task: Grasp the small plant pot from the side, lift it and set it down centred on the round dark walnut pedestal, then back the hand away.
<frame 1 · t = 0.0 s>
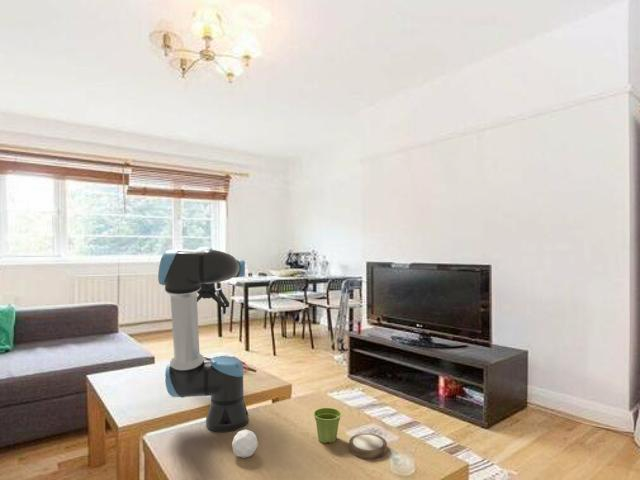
hand: (208, 319, 195), 28 cm above the table, tool tilted 20°, fingers open, 13 cm apart
geometric ball: (244, 456, 126), on the table
pedestal: (367, 448, 130), on the table
plant pot: (327, 439, 137), on the table
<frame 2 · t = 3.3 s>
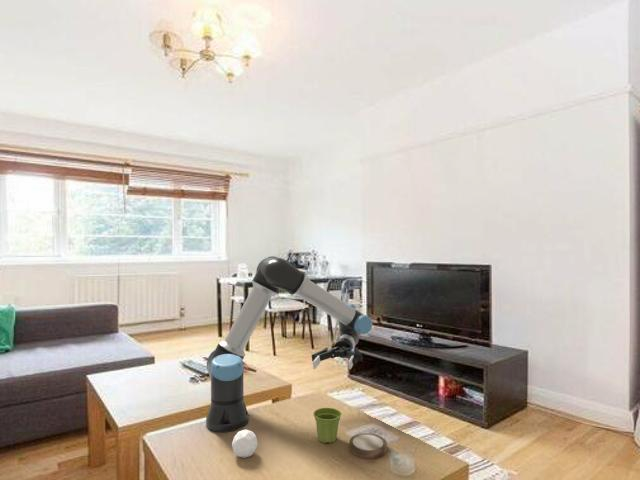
hand: (331, 365, 150), 20 cm above the table, tool horizontal, fingers open, 13 cm apart
nothing on the table moved.
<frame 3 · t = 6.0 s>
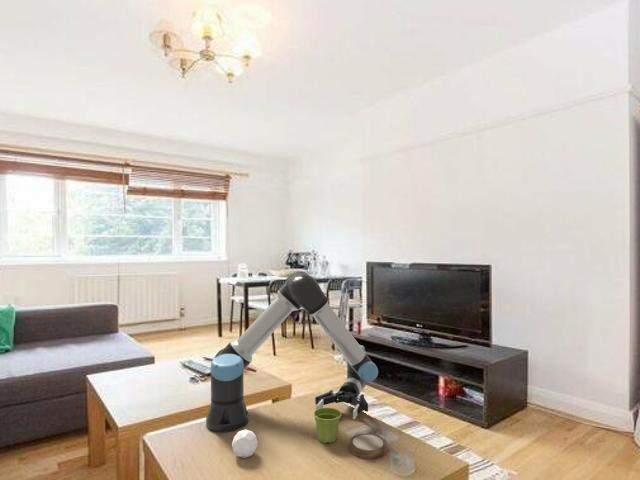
hand: (335, 412, 143), 6 cm above the table, tool horizontal, fingers open, 13 cm apart
nothing on the table moved.
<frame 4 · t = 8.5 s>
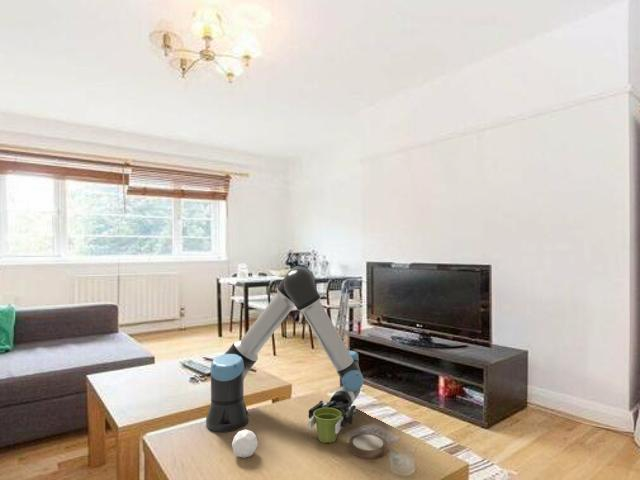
hand: (322, 427, 132), 6 cm above the table, tool horizontal, fingers closed on plant pot, 8 cm apart
plant pot: (327, 439, 137), on the table, touching gripper
everything else where it was.
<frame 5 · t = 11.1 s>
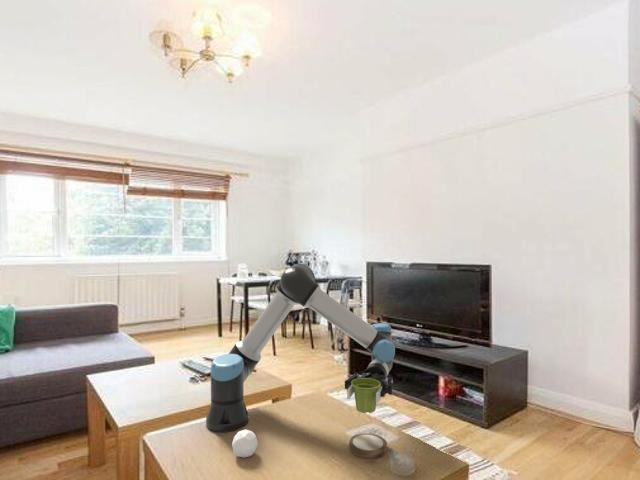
hand: (362, 396, 126), 18 cm above the table, tool horizontal, fingers closed on plant pot, 8 cm apart
plant pot: (365, 410, 131), point 12 cm above the table, touching gripper
everything else where it was.
when the fingers open (9 cm above the table, at t = 13.8 s): plant pot moves 2 cm, resting on pedestal.
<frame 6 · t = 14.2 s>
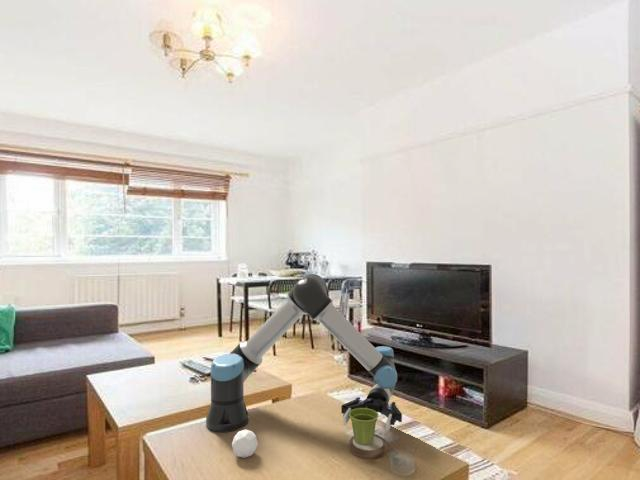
hand: (365, 423, 127), 9 cm above the table, tool horizontal, fingers open, 13 cm apart
plant pot: (363, 441, 131), point 2 cm above the table, touching pedestal
everything else where it was.
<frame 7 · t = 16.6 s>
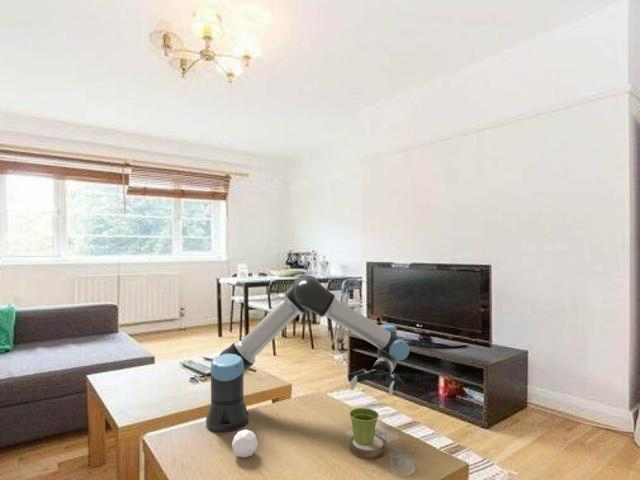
hand: (370, 388, 140), 16 cm above the table, tool horizontal, fingers open, 13 cm apart
nothing on the table moved.
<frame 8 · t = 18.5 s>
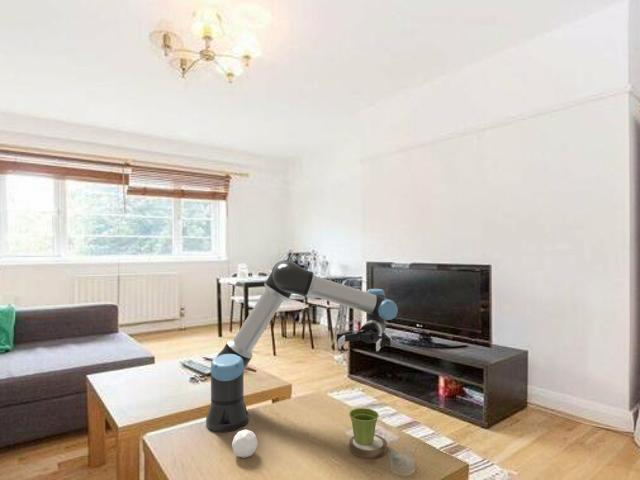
hand: (357, 345, 142), 30 cm above the table, tool horizontal, fingers open, 13 cm apart
nothing on the table moved.
at the end: plant pot 1.5 cm from the pedestal (horizontally); plant pot tilted 0°; plant pot touching pedestal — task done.
